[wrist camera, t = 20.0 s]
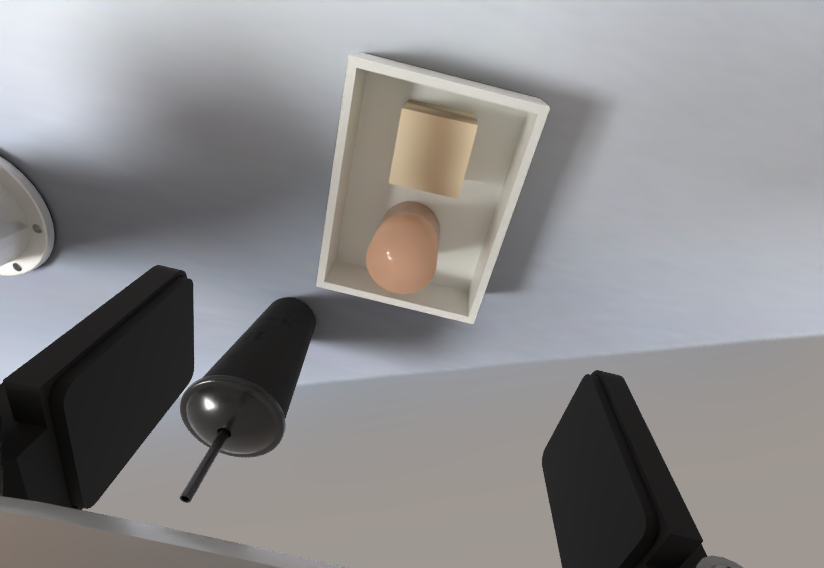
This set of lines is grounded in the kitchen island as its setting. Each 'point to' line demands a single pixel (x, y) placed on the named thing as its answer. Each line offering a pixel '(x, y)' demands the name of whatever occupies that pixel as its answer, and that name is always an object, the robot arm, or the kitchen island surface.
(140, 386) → the robot arm
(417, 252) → the cylinder
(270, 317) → the drinking cup
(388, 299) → the tote
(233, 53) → the kitchen island surface
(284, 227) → the kitchen island surface
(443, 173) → the cube
